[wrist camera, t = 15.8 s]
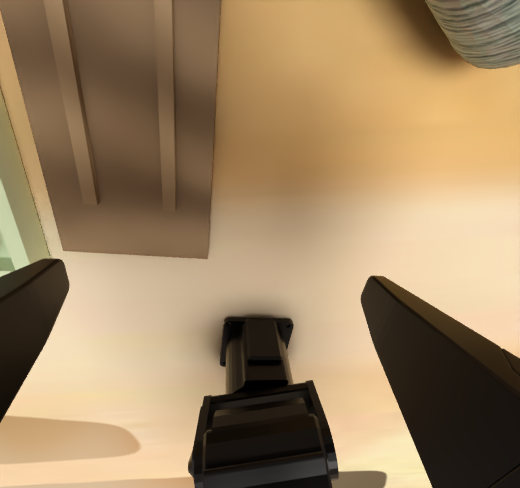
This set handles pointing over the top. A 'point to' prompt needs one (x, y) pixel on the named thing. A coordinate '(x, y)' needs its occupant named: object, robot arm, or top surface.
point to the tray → (16, 206)
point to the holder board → (122, 118)
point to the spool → (481, 30)
